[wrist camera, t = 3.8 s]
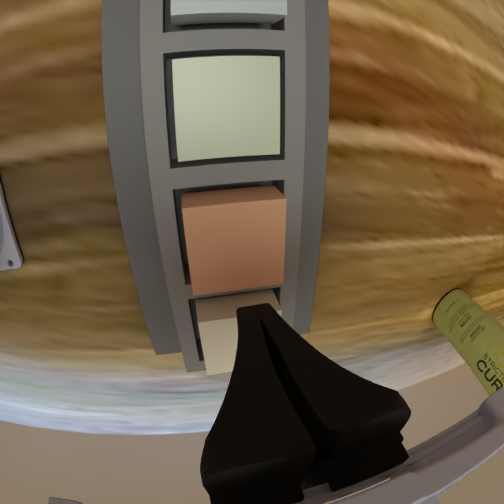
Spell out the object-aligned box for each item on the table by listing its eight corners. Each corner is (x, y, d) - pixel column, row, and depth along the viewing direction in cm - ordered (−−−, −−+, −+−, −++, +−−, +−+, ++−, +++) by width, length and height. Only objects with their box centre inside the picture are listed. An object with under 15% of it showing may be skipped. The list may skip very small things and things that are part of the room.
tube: (442, 286, 27) (561, 422, 11) (470, 279, 28) (579, 395, 12) (425, 328, 30) (522, 458, 13) (453, 318, 31) (545, 432, 14)
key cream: (204, 352, 20) (207, 375, 18) (195, 299, 18) (197, 322, 16) (270, 342, 21) (278, 363, 19) (272, 289, 19) (281, 310, 17)
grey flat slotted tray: (156, 345, 23) (156, 377, 20) (110, -44, 9) (98, -65, 6) (305, 323, 25) (319, 351, 22) (318, -45, 11) (341, -63, 9)
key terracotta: (191, 273, 17) (193, 295, 15) (181, 193, 15) (181, 208, 13) (272, 263, 18) (283, 283, 16) (274, 185, 15) (286, 198, 14)
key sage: (178, 153, 15) (178, 161, 13) (173, 63, 12) (172, 59, 11) (268, 146, 15) (279, 154, 14) (267, 60, 13) (279, 56, 11)
